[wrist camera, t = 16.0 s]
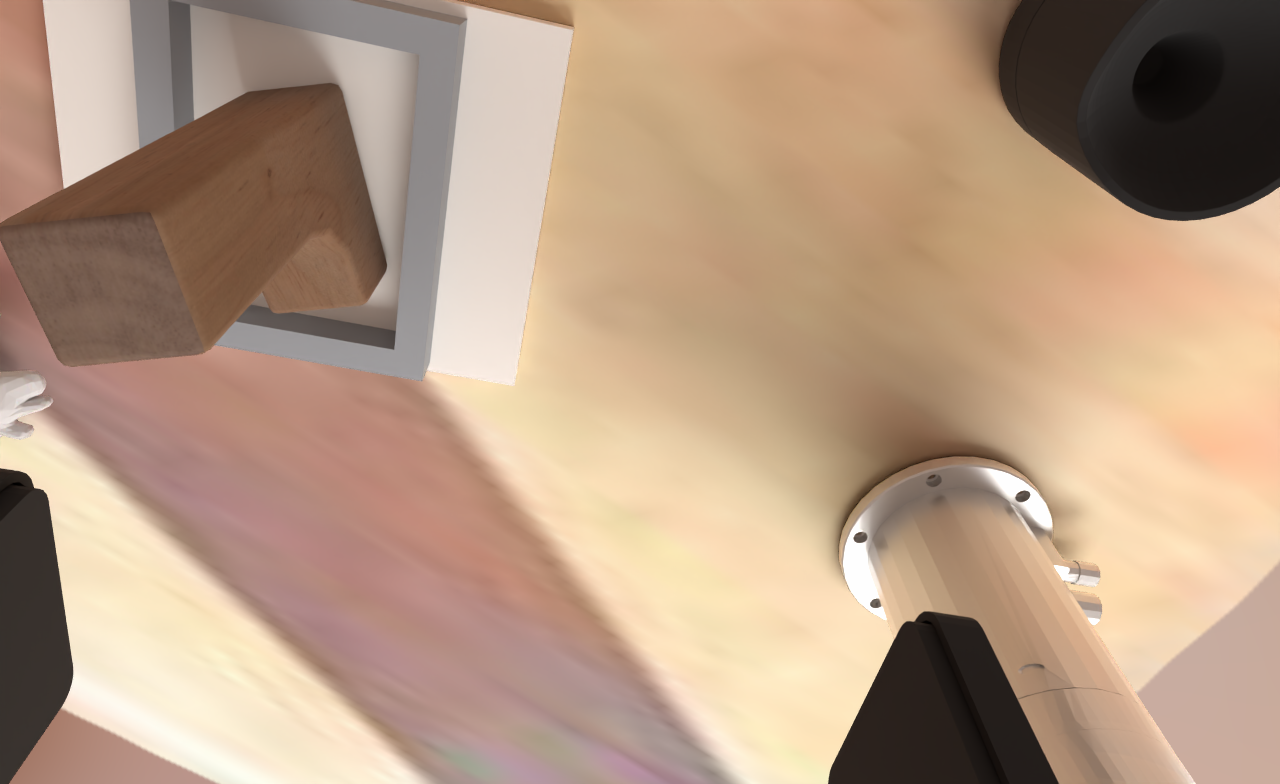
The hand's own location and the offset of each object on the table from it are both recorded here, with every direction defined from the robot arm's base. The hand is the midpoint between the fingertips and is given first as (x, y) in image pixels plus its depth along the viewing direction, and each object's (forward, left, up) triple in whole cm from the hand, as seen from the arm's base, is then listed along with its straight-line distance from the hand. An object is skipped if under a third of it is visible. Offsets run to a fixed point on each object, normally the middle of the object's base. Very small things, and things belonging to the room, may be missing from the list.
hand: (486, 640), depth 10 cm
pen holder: (-22, -6, -35) cm, 41 cm away
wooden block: (+11, +7, -34) cm, 36 cm away
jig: (+12, +7, -34) cm, 37 cm away
